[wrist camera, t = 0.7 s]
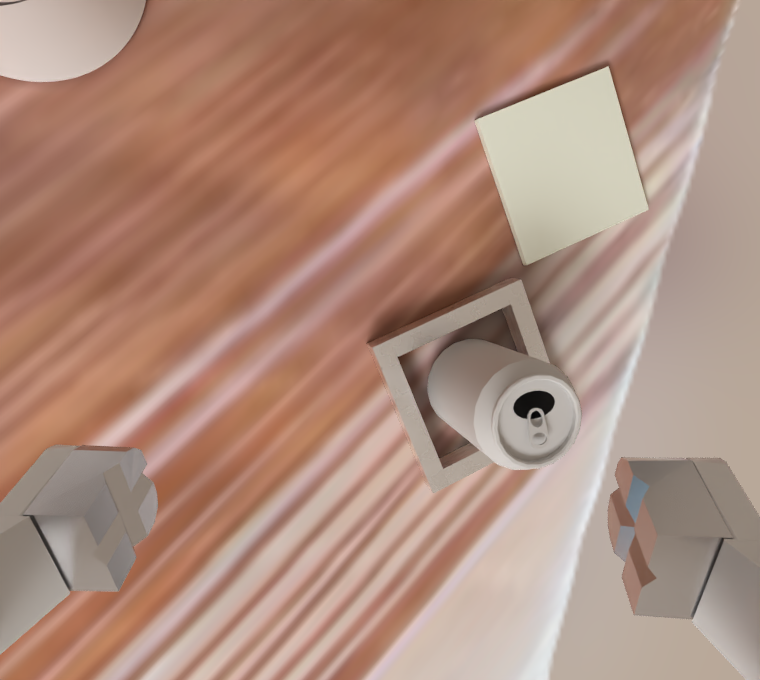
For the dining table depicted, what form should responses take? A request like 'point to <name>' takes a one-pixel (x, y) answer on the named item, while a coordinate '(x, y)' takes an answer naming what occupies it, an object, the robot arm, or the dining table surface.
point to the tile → (563, 165)
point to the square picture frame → (432, 327)
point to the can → (505, 403)
